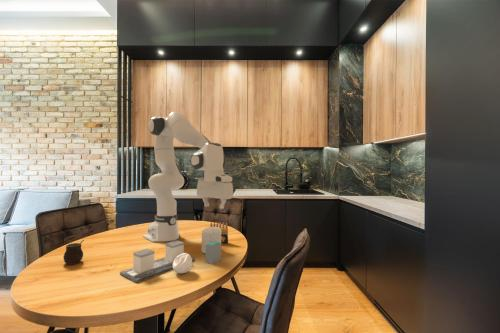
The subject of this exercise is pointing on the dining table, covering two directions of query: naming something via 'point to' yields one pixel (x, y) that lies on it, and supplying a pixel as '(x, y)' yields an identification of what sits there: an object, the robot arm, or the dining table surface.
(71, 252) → the mate gourd
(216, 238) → the photo printer
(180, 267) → the white lumpy ball
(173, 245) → the plate
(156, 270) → the rail panel
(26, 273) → the dining table surface
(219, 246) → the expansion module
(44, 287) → the dining table surface
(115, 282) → the dining table surface
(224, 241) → the ammunition clip
